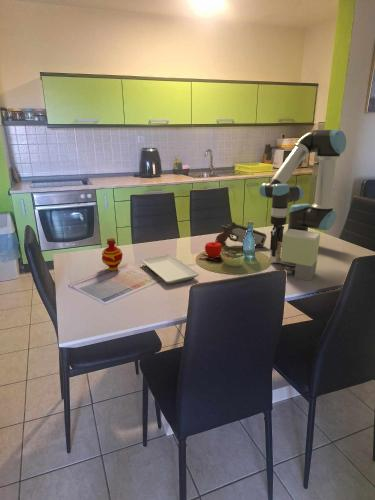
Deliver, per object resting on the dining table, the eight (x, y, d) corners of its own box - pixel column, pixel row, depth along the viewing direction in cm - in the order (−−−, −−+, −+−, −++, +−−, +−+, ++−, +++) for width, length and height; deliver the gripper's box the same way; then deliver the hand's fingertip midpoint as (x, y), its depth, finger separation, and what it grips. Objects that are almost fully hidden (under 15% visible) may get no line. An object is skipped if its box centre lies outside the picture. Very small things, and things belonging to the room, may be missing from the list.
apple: (202, 258, 182) (202, 244, 180) (208, 253, 190) (208, 240, 187) (218, 260, 179) (219, 246, 176) (223, 255, 187) (224, 241, 184)
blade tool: (272, 259, 178) (274, 240, 175) (301, 264, 170) (303, 245, 167) (269, 261, 175) (271, 242, 172) (299, 267, 167) (301, 247, 164)
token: (285, 270, 167) (286, 265, 166) (297, 272, 164) (297, 268, 163) (282, 274, 162) (282, 269, 161) (293, 276, 159) (294, 271, 158)
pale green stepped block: (284, 267, 169) (288, 228, 163) (315, 273, 162) (320, 233, 155) (277, 274, 161) (281, 233, 155) (309, 280, 154) (315, 238, 147)
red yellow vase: (127, 266, 172) (125, 237, 167) (117, 273, 163) (114, 243, 158) (109, 263, 175) (107, 235, 170) (98, 271, 166) (95, 241, 161)
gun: (258, 258, 201) (267, 234, 195) (214, 243, 203) (222, 219, 198) (258, 255, 205) (267, 232, 200) (215, 240, 208) (223, 217, 202)
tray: (166, 288, 148) (166, 281, 146) (140, 265, 174) (140, 259, 173) (200, 280, 155) (200, 273, 154) (170, 259, 181) (170, 253, 180)
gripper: (277, 211, 177) (273, 254, 184) (265, 218, 163) (261, 264, 171) (291, 213, 173) (287, 257, 180) (280, 220, 159) (276, 267, 167)
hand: (275, 260), depth 175 cm, fingers closed on blade tool, 4 cm apart
